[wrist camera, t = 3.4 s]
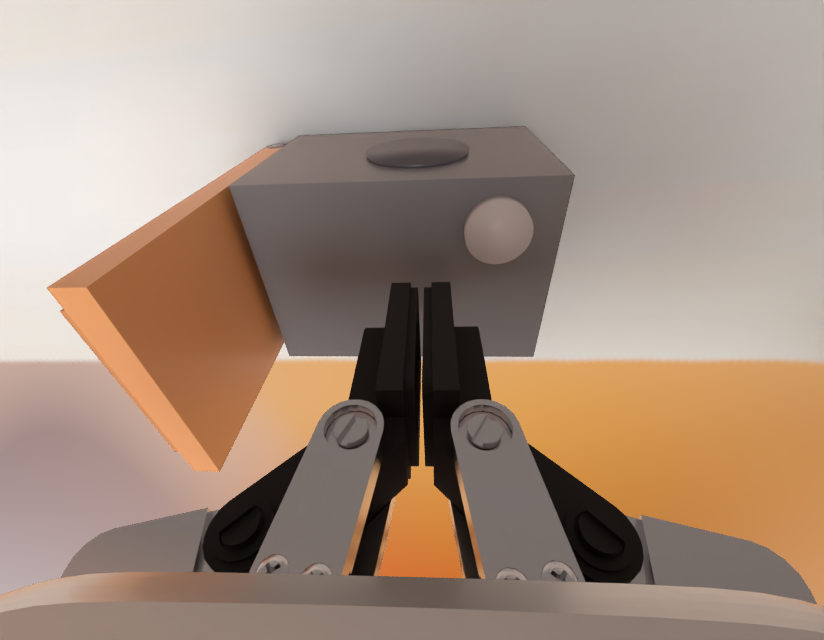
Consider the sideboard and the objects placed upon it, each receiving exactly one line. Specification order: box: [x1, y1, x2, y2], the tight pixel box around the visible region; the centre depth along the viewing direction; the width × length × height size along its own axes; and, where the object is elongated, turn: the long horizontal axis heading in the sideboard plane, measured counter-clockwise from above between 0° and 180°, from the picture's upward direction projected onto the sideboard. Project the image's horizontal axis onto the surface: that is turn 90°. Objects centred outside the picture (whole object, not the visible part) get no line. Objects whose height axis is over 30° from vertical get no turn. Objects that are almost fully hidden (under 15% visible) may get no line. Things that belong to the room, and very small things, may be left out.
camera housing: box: [229, 126, 575, 357], centre depth 15 cm, size 10×7×8 cm
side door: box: [47, 144, 285, 472], centre depth 13 cm, size 1×7×12 cm, turn 2°
